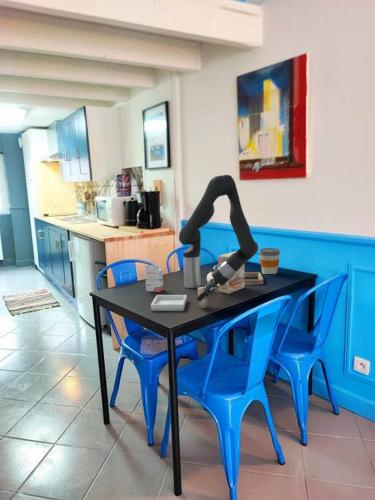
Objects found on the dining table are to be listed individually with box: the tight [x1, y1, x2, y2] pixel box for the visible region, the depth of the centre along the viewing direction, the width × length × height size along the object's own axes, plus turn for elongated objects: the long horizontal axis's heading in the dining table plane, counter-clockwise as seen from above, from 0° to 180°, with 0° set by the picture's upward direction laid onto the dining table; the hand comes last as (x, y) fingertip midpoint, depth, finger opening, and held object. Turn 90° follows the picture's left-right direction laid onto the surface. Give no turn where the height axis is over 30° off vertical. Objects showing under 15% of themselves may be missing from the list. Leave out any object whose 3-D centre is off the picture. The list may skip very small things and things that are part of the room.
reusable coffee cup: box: [258, 247, 281, 275], centre depth 233 cm, size 13×13×15 cm
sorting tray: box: [150, 294, 188, 312], centre depth 178 cm, size 15×15×3 cm
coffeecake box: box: [217, 251, 246, 295], centre depth 200 cm, size 15×7×20 cm, turn 137°
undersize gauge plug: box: [197, 286, 209, 309], centre depth 174 cm, size 4×4×9 cm
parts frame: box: [245, 271, 264, 286], centre depth 219 cm, size 19×19×2 cm
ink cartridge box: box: [144, 264, 164, 293], centre depth 204 cm, size 9×5×15 cm, turn 70°
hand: (198, 298), depth 174 cm, fingers closed on undersize gauge plug, 4 cm apart
